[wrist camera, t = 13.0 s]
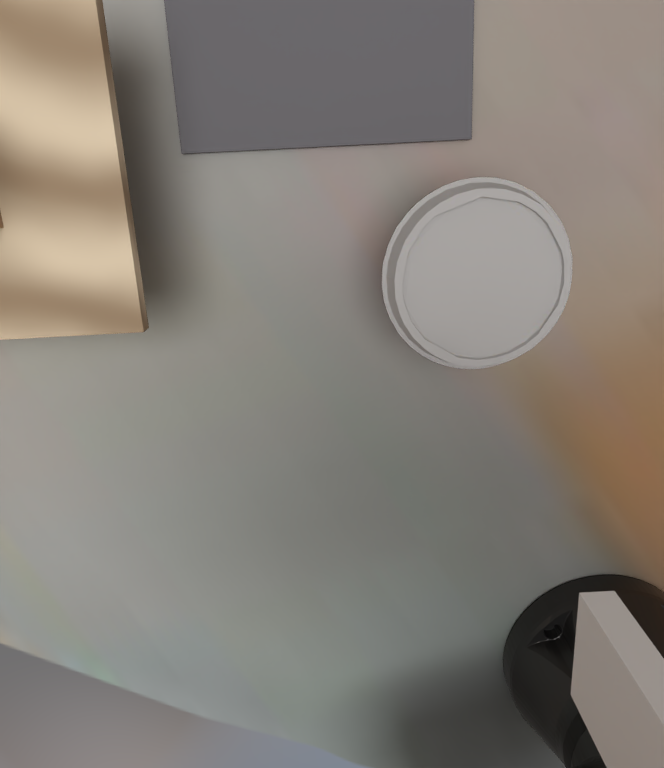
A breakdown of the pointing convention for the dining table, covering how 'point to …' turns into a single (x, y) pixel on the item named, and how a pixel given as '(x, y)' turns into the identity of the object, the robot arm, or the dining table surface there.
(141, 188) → the dining table surface
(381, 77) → the rubber mat
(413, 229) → the disposable coffee cup
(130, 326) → the oak lid
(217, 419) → the dining table surface
